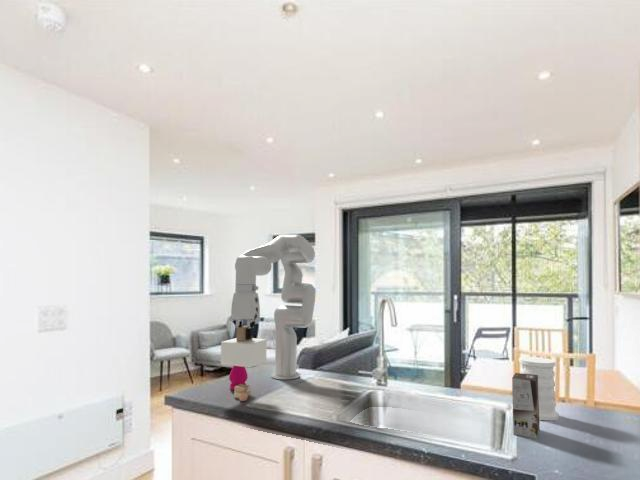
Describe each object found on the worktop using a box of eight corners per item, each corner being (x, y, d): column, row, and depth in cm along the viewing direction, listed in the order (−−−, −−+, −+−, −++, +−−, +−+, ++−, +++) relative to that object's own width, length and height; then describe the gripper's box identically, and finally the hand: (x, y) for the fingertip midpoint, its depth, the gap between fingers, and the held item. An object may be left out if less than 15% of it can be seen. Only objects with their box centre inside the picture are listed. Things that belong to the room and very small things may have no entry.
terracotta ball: (241, 399, 151) (242, 391, 151) (249, 400, 150) (249, 391, 150) (237, 401, 148) (237, 393, 148) (244, 402, 147) (244, 394, 147)
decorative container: (512, 409, 143) (511, 356, 145) (544, 409, 144) (542, 356, 146) (532, 421, 132) (530, 363, 133) (567, 420, 133) (564, 363, 134)
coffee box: (537, 439, 117) (535, 380, 118) (512, 434, 120) (511, 377, 122) (540, 429, 124) (538, 374, 126) (516, 425, 128) (515, 371, 129)
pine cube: (240, 395, 157) (240, 384, 157) (249, 396, 156) (249, 385, 156) (234, 397, 153) (234, 386, 154) (243, 399, 152) (243, 387, 152)
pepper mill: (245, 391, 162) (246, 339, 164) (226, 390, 162) (228, 338, 164) (248, 386, 169) (250, 336, 171) (231, 386, 169) (232, 336, 171)
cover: (239, 357, 162) (239, 324, 162) (266, 360, 157) (266, 325, 158) (220, 364, 150) (221, 327, 151) (249, 367, 146) (250, 329, 147)
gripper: (269, 289, 156) (268, 339, 155) (232, 288, 162) (231, 336, 161) (259, 290, 149) (258, 342, 148) (221, 289, 155) (220, 338, 154)
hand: (244, 338), depth 154 cm, fingers closed on cover, 3 cm apart
